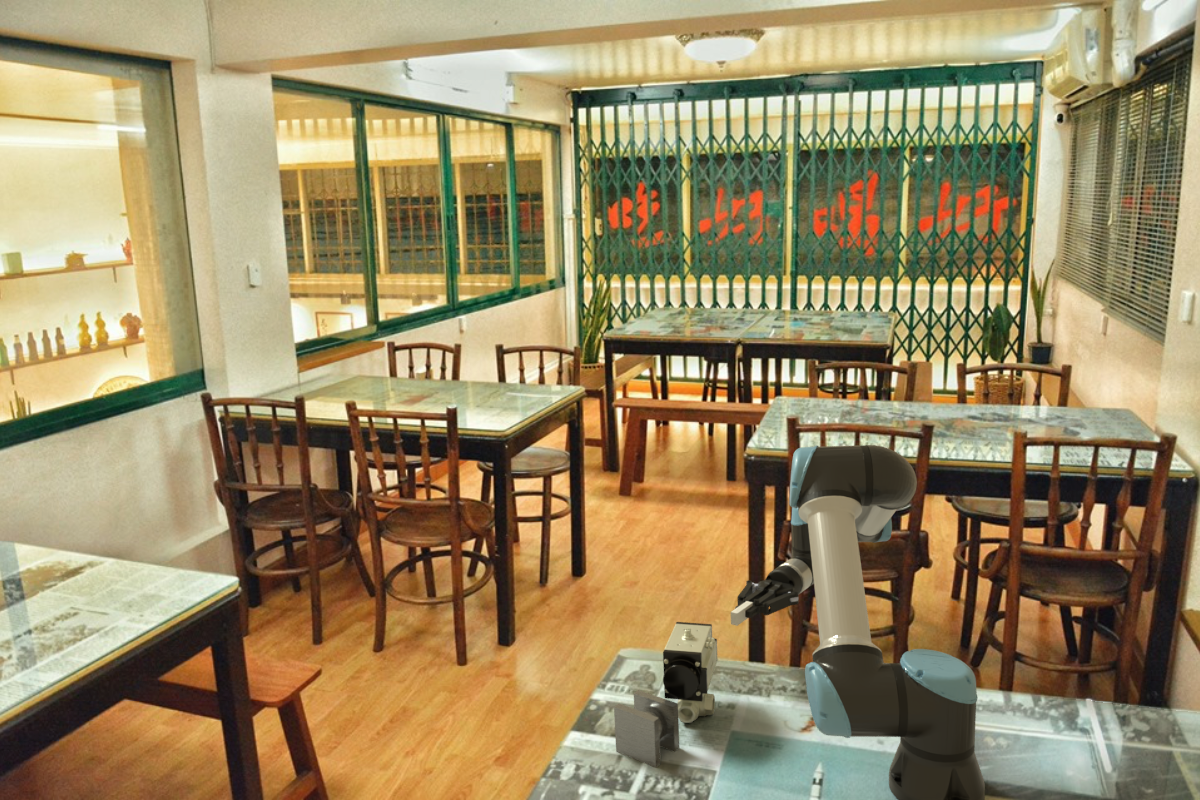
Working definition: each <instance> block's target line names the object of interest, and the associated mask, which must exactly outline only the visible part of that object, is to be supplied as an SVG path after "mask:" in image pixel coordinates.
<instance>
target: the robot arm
mask: <svg viewBox="0 0 1200 800" xmlns="http://www.w3.org/2000/svg"><path fill="white" fill-rule="evenodd" d="M792 455H793V456H792V461H791V471H790V482H789V506H790V507H791V519H790V524H791V558H789V559H788V560H787V561H785V562H783V563H781V564H780V565H779V566H778V567H776V568H774V569H773V570H771V571H770V572H769V573H768V574H767V576H766V577H765V579H764V580H760V581H758V583H754V582H752V580H746V581H745V582H746V584H745V586H744V587H743V589H742V590H741V591H740V592H739V594H738V595H737V605H736V606H735V607H734V609H733V610H732V611H730V625H732V626H735V627H737V626H739V625H741V624H742V623H743V622H745V621H746V620H747V619H751V618H753V617H755V615H756V616H757V615H760V614H763V616H770V615H772V614H774V613H776V612H779V611H781V610H783V609H786V608H788V607H790V606H797V605H798V604H799V595H800V594H802V593H803V592H804V591H806V590H807V589H808V588H809V587H811V586H813V587H814V597H815V604H816V606H815V607H816V615H817V624H818V625H817V626H818V635H819V646H818V647H817V648H816V649H815V650H814V651H813V652H812V661H811V662H809V663H807V664H806V665H805V669H804V678H805V685H806V687H805V689H806V693H807V694H806V695H807V700H808V704H809V707H810V712H811V716H812V719H813V722H814V725H815V726H816V728H817V730H818V731H819V732H820V733H822V734H823V735H825V736H830V737H843V738H845V739H850V738H851V737H853V738H854V737H855V738H857V737H858V738H859V737H861V738H862V737H863V738H864V737H865V738H866V737H867V738H874V737H875V738H880V737H882V738H883V737H884V738H888V737H889V738H891V737H892V738H899V739H900V741H899V744H898V746H897V749H896V751H895V754H894V756H893V758H892V762H891V764H890V766H889V770H888V787H889V789H890V792H891V793H892V795H893V796H894V797H895V798H896V800H986V799H985V797H986V795H985V794H986V784H985V780H984V776H983V773H982V771H981V767H980V764H979V762H978V758H977V756H976V753H975V748H976V747H975V741H976V718H977V715H976V714H977V713H976V712H977V701H978V694H977V693H978V692H977V679H976V675H975V672H974V671H973V670H972V668H971V667H969V665H967V664H966V663H965V662H964V661H962V660H961V659H960V658H957V657H955V656H953V655H951V654H949V653H946V652H942V651H938V650H934V649H926V648H915V649H914V648H913V649H910V650H907V651H905V652H904V653H903V654H902V655H901V657H900V660H899V662H891V663H890V662H884V658H883V652H882V649H881V648H880V647H878V646H877V645H875V643H873V641H872V637H871V629H870V623H869V621H870V620H869V616H868V614H869V613H868V608H867V607H868V606H867V601H866V593H865V585H864V584H865V583H864V578H863V571H862V563H861V556H860V555H861V554H860V547H859V543H879V542H887V541H890V539H891V538H892V531H893V522H892V517H893V515H894V514H895V513H896V511H897V510H899V509H902V508H903V507H905V506H906V505H908V504H909V502H910V501H911V500H912V499H913V497H914V495H915V494H916V491H917V485H918V483H917V480H918V479H917V476H916V473H915V470H914V468H913V466H912V465H911V463H909V461H908V460H907V459H906V458H905V457H904V456H902V455H901V454H900V453H898V452H897V451H895V450H893V449H891V448H888V447H886V446H885V447H884V446H882V445H878V444H877V445H876V444H866V445H863V444H862V445H831V446H830V445H829V446H827V445H826V446H823V445H822V446H819V445H814V446H805V447H803V446H802V447H799V448H797V449H796V450H795V451H794V452H793V454H792Z"/></svg>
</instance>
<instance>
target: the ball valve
mask: <svg viewBox="0 0 1200 800" xmlns="http://www.w3.org/2000/svg"><path fill="white" fill-rule="evenodd" d="M667 640H668V641H667V642H666V645H665V647H664V649H663V652H662V661H663V662H662V663H663V664H662V665H663V677H662V683H663V688H664V699H667V700H668V699H670V700H671V699H672V700H677V703H678V720H679V721H681V722H682V723H685V724H686V723H689V724H691V723H693V721H696V720H697V719H698V717H707V716H713V715H714V713H715V709H716V707H715V706H716V697H715V695H714V693H708V691H709V688H710V686H711V683H712V679H713V675H714V672H715V670H716V667H717V663H718V638H715V637H713V625H712V623H702V622H701V623H700V622H687V621H686V622H683V621H675V625H674V627H673V629H672V631H671V634H670V635H669V638H668V639H667Z"/></svg>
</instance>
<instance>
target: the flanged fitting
mask: <svg viewBox="0 0 1200 800" xmlns="http://www.w3.org/2000/svg"><path fill="white" fill-rule="evenodd" d="M633 706H634V708H633V707H630V706H628V705H626V704H622V703H617V704H616V705H614V707H613V711H614V712H613V713H614V732H615V733H614V734H615V735H614V736H615V752H616V753H619V754H622V755H623V756H627V757H629V758H630V759H631V758H632V759H633V760H636V761H639V762H641V763H644V764H646V765H648V766H651V767H653V768H658V766H660V765H661V763H662V762H661V748H663V749H666V750H669V751H671V752H674V753H675V752H677V751H678V750H679V749H680V734H679V733H680V730H679V729H680V728H679V727H680V724H679V718H678V702H674V701H671V700H668V699H667V698H662V697H660V696H658V695H654V694H651V693H649V692H646V691H642V690H640V689H638V690H636V691H635V692H633Z"/></svg>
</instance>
